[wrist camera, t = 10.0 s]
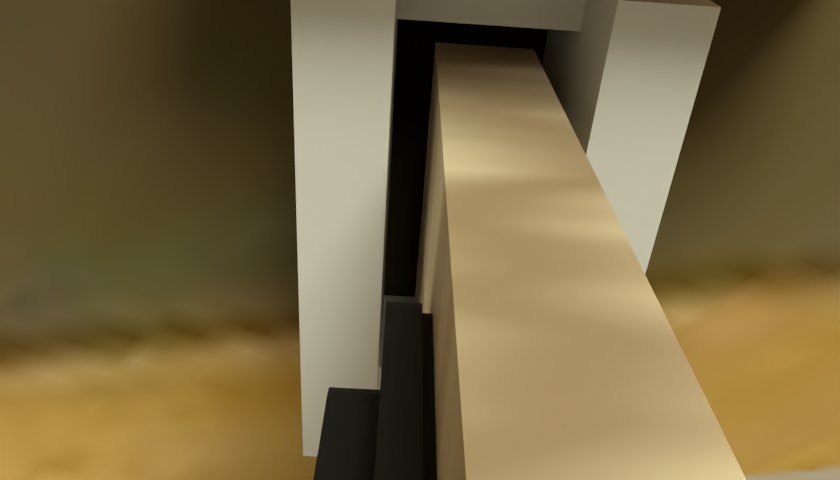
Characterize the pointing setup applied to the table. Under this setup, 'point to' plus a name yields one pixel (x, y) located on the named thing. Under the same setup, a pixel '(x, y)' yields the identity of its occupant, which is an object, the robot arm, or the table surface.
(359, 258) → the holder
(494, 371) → the wooden board
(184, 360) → the table surface
